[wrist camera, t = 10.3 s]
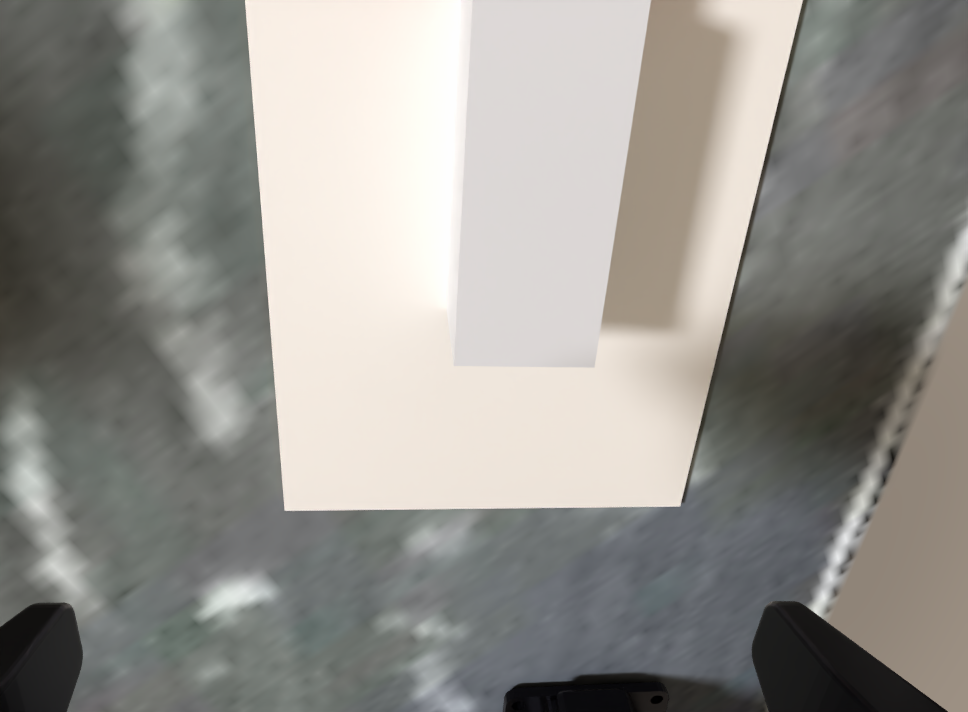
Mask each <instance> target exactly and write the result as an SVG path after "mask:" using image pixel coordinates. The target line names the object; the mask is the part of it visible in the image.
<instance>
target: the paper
mask: <svg viewBox="0 0 968 712" xmlns="http://www.w3.org/2000/svg"><path fill="white" fill-rule="evenodd" d="M802 2H803V0H651V4H650V10H649V17H648V23H647V30H646V36H645V43H644V49H643V56H642V62H641V69H640V75H639V82H638V88H637V95H636V101H635V107H634V114H633V120H632V127H631V133H630V140H629V146H628V153H627V159H626V166H625V172H624V179H623V185H622V192H621V198H620V205H619V211H618V218H617V224H616V231H615V237H614V244H613V250H612V257H611V263H610V270H609V276H608V283H607V289H606V296H605V302H604V309H603V315H602V322H601V328H600V335H599V341H598V348H597V354H596V361H595V367H594V368H585V367H500V366H454V364H453V356H452V349H451V341H450V333H449V325H448V318H447V310H446V307H447V284H448V262H449V239H450V217H451V194H452V172H453V149H454V127H455V104H456V82H457V59H458V37H459V14H460V0H245V4H246V17H247V30H248V43H249V56H250V69H251V82H252V95H253V107H254V120H255V133H256V146H257V159H258V172H259V185H260V198H261V211H262V224H263V237H264V249H265V262H266V275H267V288H268V301H269V314H270V327H271V340H272V353H273V366H274V379H275V392H276V404H277V417H278V430H279V443H280V456H281V469H282V482H283V495H284V508H285V511H311V510H401V509H492V508H583V507H674V506H680V505H681V501H682V497H683V493H684V489H685V484H686V480H687V476H688V472H689V468H690V464H691V460H692V456H693V451H694V447H695V443H696V439H697V435H698V431H699V427H700V423H701V418H702V414H703V410H704V406H705V402H706V398H707V394H708V390H709V385H710V381H711V377H712V373H713V369H714V365H715V361H716V357H717V352H718V348H719V344H720V340H721V336H722V332H723V328H724V324H725V319H726V315H727V311H728V307H729V303H730V299H731V295H732V291H733V286H734V282H735V278H736V274H737V270H738V266H739V262H740V258H741V253H742V249H743V245H744V241H745V237H746V233H747V229H748V225H749V220H750V216H751V212H752V208H753V204H754V200H755V196H756V192H757V187H758V183H759V179H760V175H761V171H762V167H763V163H764V159H765V154H766V150H767V146H768V142H769V138H770V134H771V130H772V126H773V121H774V117H775V113H776V109H777V105H778V101H779V97H780V93H781V88H782V84H783V80H784V76H785V72H786V68H787V64H788V60H789V55H790V51H791V47H792V43H793V39H794V35H795V31H796V27H797V22H798V18H799V14H800V10H801V6H802Z"/></svg>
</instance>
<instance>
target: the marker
mask: <svg viewBox="0 0 968 712" xmlns="http://www.w3.org/2000/svg"><path fill="white" fill-rule="evenodd" d="M650 4H651V0H460V14H459V37H458V59H457V82H456V104H455V127H454V149H453V172H452V194H451V217H450V239H449V262H448V284H447V307H446V310H447V318H448V325H449V333H450V341H451V349H452V356H453V364H454V366H500V367H585V368H594V367H595V361H596V354H597V348H598V341H599V335H600V328H601V322H602V315H603V309H604V302H605V296H606V289H607V283H608V276H609V270H610V263H611V257H612V250H613V244H614V237H615V231H616V224H617V218H618V211H619V205H620V198H621V192H622V185H623V179H624V172H625V166H626V159H627V153H628V146H629V140H630V133H631V127H632V120H633V114H634V107H635V101H636V95H637V88H638V82H639V75H640V69H641V62H642V56H643V49H644V43H645V36H646V30H647V23H648V17H649V10H650Z"/></svg>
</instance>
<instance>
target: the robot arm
mask: <svg viewBox="0 0 968 712" xmlns="http://www.w3.org/2000/svg"><path fill="white" fill-rule="evenodd" d="M752 658H753V663H754V666H755V670H756V673H757V676H758V679H759V682H760V685H761V688H762V692H763V695H764V698H765V701H766V704H767V707H768V711H769V712H948V711H946V710H945V709H944V708H942V707H941V706H939V705H938V704H937V703H936V702H934V701H933V700H931V699H930V698H929V697H927V696H926V695H925V694H923V693H922V692H921V691H919V690H918V689H916V688H915V687H914V686H913V685H911V684H910V683H909V682H907V681H906V680H904V679H903V678H902V677H900V676H899V675H898V674H896V673H895V672H894V671H892V670H891V669H890V668H888V667H887V666H886V665H884V664H883V663H882V662H880V661H879V660H877V659H876V658H875V657H873V656H872V655H871V654H869V653H868V652H867V651H865V650H864V649H863V648H861V647H860V646H859V645H857V644H856V643H854V642H853V641H852V640H850V639H849V638H848V637H846V636H845V635H844V634H842V633H841V632H840V631H838V630H837V629H835V628H834V627H833V626H831V625H830V624H829V623H827V622H826V621H825V620H823V619H822V618H821V617H819V616H818V615H817V614H815V613H814V612H813V611H811V610H810V609H809V608H807V607H806V606H804V605H803V604H801V603H799V602H795V601H773V602H770V603H769V604H768V605H767V606H766V607H765V609H764V612H763V615H762V617H761V620H760V623H759V626H758V629H757V631H756V634H755V637H754V640H753V644H752ZM82 660H83V650H82V645H81V640H80V635H79V631H78V626H77V622H76V617H75V613H74V610H73V608H72V606H71V605H70V604H67V603H35V604H32V605H30V606H28V607H27V608H25V609H24V610H23V611H21V612H20V613H19V614H17V615H16V616H14V617H13V618H12V619H10V620H9V621H8V622H6V623H5V624H4V625H2V626H1V627H0V712H67V709H68V706H69V703H70V700H71V697H72V694H73V691H74V688H75V685H76V682H77V679H78V677H79V674H80V670H81V666H82ZM668 701H669V695H668V692H667V690H666V687H665V686H664V684H662V683H658V682H650V683H626V684H602V685H578V686H554V687H530V688H515V689H512V690H510V691H508V692H507V693H506V695H505V697H504V705H503V712H666V708H667V704H668Z"/></svg>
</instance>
